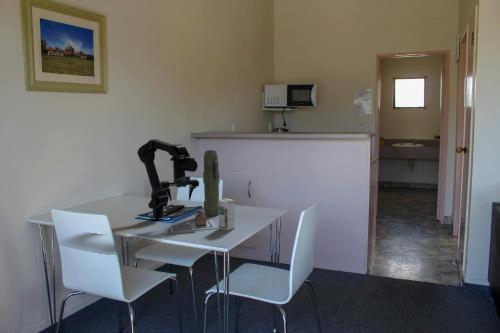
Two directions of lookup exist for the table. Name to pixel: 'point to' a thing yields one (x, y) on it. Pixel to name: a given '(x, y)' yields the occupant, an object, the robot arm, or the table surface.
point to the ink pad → (181, 228)
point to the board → (209, 226)
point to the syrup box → (226, 214)
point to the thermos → (211, 183)
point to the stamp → (200, 219)
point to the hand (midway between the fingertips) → (180, 200)
